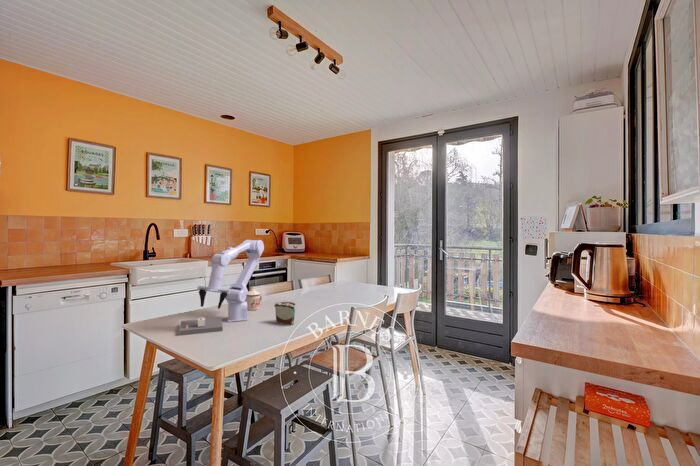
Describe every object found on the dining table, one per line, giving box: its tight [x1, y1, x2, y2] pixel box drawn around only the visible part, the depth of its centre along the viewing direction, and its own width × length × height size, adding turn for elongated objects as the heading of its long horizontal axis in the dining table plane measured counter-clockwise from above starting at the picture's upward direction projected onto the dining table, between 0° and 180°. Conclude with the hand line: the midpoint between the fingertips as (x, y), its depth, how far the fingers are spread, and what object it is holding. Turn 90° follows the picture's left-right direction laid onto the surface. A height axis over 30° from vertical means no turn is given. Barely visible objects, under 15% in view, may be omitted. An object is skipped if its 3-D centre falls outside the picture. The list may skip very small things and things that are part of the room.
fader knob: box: [197, 315, 206, 327], centre depth 155 cm, size 3×4×4 cm
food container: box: [273, 301, 297, 326], centre depth 169 cm, size 12×6×10 cm, turn 65°
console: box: [178, 317, 224, 336], centre depth 157 cm, size 18×16×2 cm
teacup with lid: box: [244, 288, 263, 311], centre depth 195 cm, size 12×9×12 cm
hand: (210, 307), depth 156 cm, fingers open, 7 cm apart
